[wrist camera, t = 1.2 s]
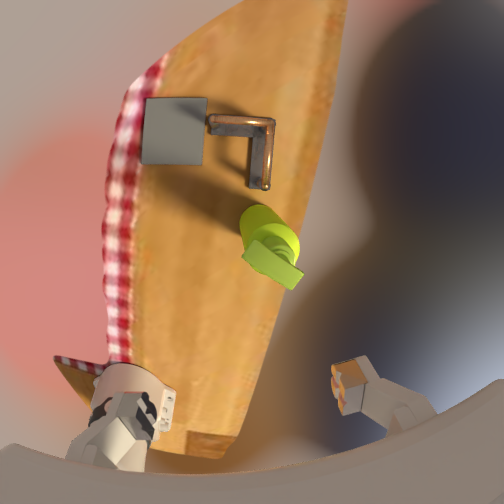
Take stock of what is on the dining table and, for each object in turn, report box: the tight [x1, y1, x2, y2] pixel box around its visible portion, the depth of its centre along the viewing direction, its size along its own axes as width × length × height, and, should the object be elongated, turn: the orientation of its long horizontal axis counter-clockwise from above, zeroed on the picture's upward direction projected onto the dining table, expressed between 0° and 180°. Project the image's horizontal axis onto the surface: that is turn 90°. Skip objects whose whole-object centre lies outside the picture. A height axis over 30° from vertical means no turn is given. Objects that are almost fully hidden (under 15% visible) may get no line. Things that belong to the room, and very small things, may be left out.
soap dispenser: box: [239, 205, 304, 290], centre depth 33 cm, size 6×7×20 cm
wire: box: [208, 114, 276, 191], centre depth 36 cm, size 10×9×6 cm
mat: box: [141, 98, 207, 165], centre depth 37 cm, size 10×9×1 cm
